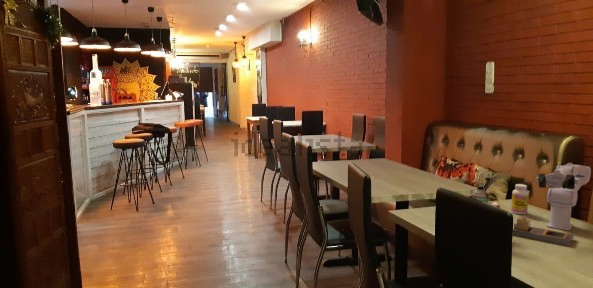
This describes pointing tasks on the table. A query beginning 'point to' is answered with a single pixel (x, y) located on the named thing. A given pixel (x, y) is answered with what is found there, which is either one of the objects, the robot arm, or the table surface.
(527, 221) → the tan square knob peg
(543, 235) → the grey slotted board
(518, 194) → the supplement bottle
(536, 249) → the table surface
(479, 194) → the spray can
